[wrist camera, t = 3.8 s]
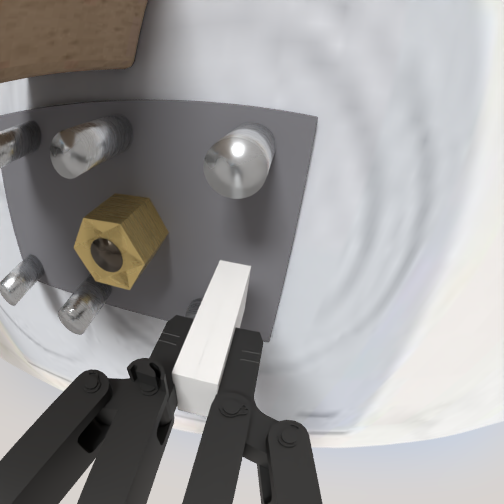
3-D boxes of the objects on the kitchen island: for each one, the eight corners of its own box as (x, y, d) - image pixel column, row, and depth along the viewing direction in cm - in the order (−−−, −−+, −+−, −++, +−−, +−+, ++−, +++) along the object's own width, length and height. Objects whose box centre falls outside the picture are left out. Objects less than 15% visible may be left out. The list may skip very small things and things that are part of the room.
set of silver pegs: (31, 272, 23) (4, 301, 19) (1, 125, 15) (-41, 142, 11) (246, 330, 21) (235, 380, 18) (279, 126, 14) (271, 142, 10)
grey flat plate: (31, 275, 23) (28, 277, 23) (-1, 115, 15) (-4, 116, 14) (269, 338, 22) (268, 341, 22) (317, 116, 13) (317, 117, 13)
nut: (106, 248, 19) (80, 277, 16) (99, 191, 17) (66, 215, 14) (170, 261, 19) (148, 295, 16) (168, 200, 17) (141, 228, 14)
